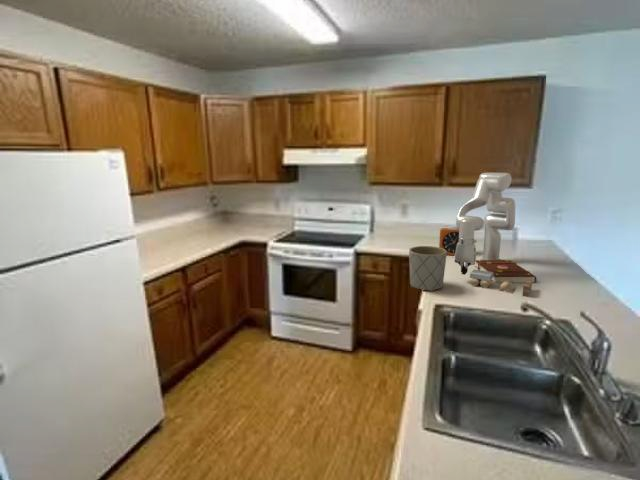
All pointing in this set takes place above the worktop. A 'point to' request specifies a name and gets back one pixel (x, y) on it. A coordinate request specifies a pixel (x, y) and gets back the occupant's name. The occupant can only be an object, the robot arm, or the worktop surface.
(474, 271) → the slab
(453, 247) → the alarm clock
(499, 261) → the book
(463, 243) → the robot arm
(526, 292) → the stop block
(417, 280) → the planter
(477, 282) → the bed rollers
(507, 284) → the roller
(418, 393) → the worktop surface
